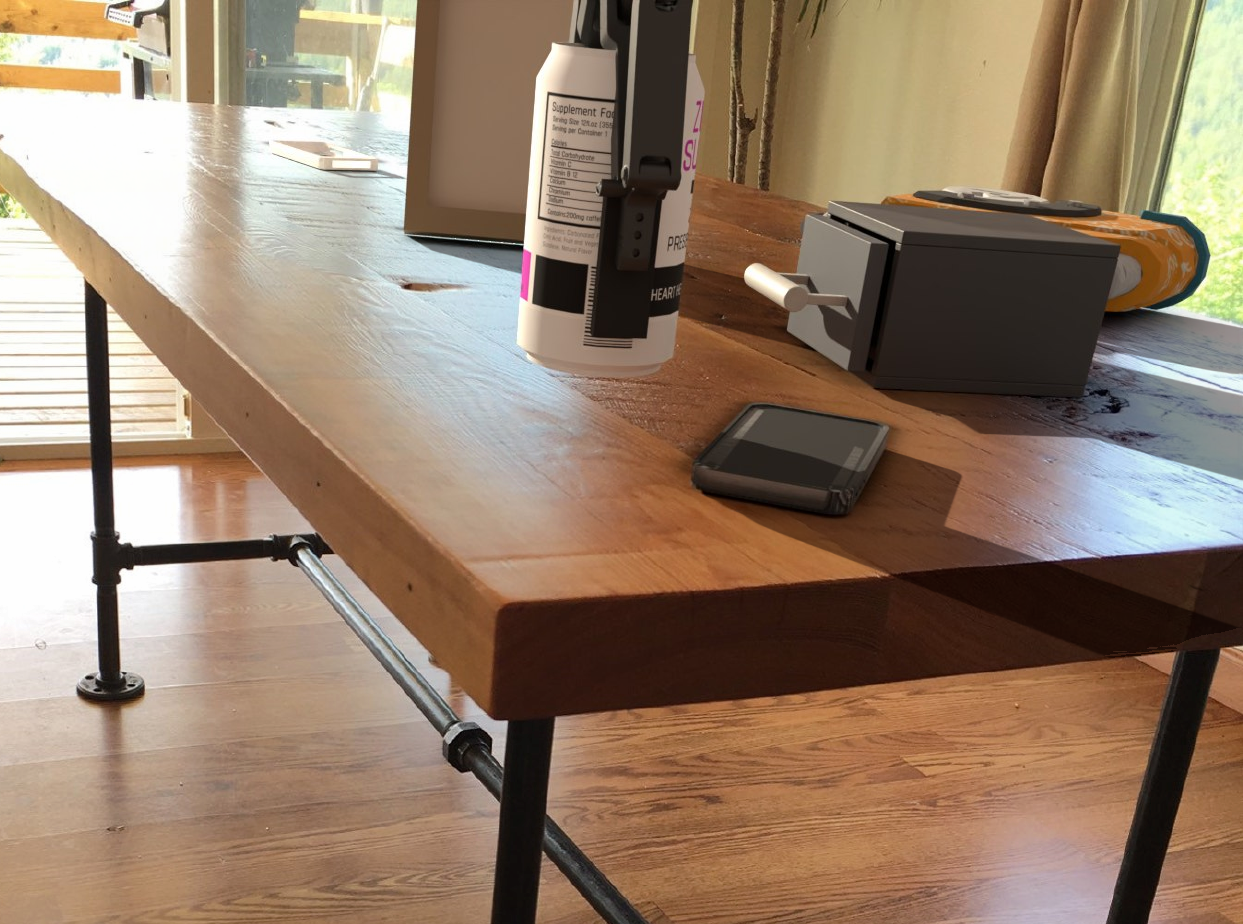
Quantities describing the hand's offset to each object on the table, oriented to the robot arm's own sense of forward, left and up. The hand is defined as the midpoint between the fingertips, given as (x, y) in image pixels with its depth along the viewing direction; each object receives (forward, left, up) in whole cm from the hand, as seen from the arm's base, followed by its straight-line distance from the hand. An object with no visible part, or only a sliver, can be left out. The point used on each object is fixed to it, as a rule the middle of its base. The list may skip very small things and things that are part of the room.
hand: (597, 317), depth 79 cm
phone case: (+111, +6, -6) cm, 111 cm away
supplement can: (0, 0, -2) cm, 2 cm away
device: (+47, -47, -6) cm, 67 cm away
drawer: (+18, -24, -5) cm, 31 cm away
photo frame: (+63, -9, -6) cm, 64 cm away
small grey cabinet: (+18, -29, -6) cm, 34 cm away
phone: (-6, -10, -6) cm, 13 cm away
